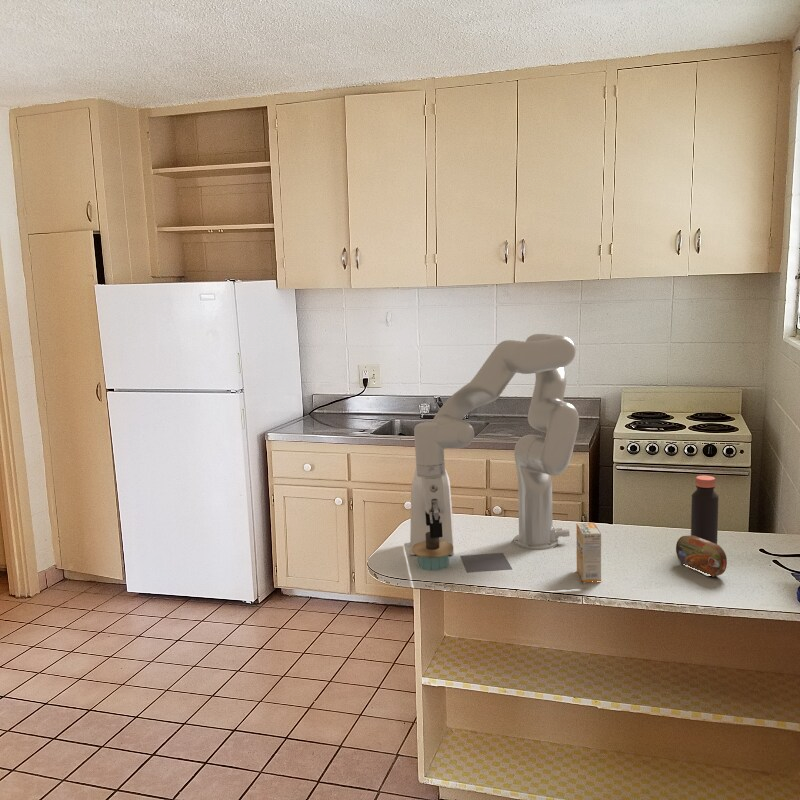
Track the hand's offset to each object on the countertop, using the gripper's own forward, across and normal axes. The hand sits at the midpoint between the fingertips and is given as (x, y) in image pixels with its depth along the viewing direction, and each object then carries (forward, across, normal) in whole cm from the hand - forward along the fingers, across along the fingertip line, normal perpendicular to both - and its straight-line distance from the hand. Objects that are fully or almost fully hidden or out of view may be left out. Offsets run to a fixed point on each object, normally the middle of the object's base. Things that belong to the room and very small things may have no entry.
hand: (434, 531), depth 203 cm
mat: (+10, -1, -13) cm, 17 cm away
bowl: (+10, 0, +1) cm, 10 cm away
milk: (+10, +12, 0) cm, 15 cm away
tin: (+11, -15, -66) cm, 69 cm away
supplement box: (+11, -14, -37) cm, 41 cm away
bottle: (+12, 0, -74) cm, 75 cm away
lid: (+5, 0, +1) cm, 5 cm away
